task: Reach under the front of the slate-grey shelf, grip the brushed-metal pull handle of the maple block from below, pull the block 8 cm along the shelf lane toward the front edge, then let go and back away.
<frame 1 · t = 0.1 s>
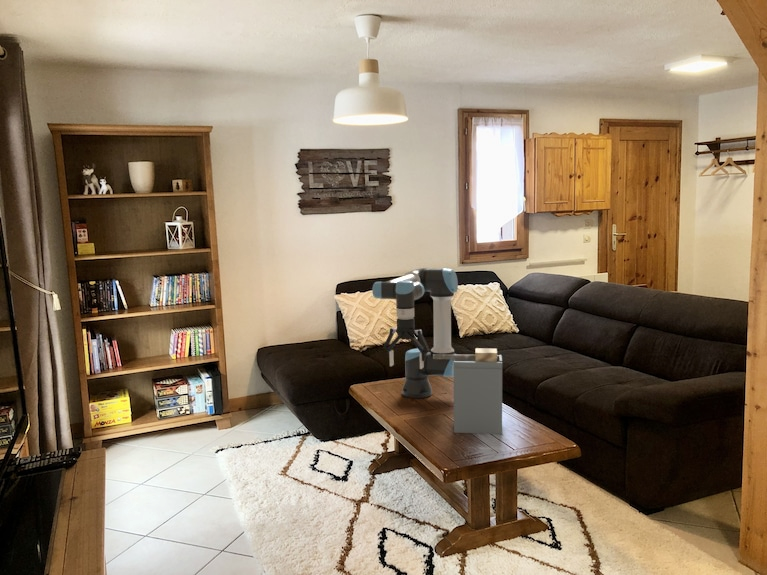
hand: (406, 367, 262), 28 cm above the table, tool pointing down, fingers open, 13 cm apart
shelf: (477, 427, 266), on the table
maple block: (486, 364, 262), point 28 cm above the table, touching shelf
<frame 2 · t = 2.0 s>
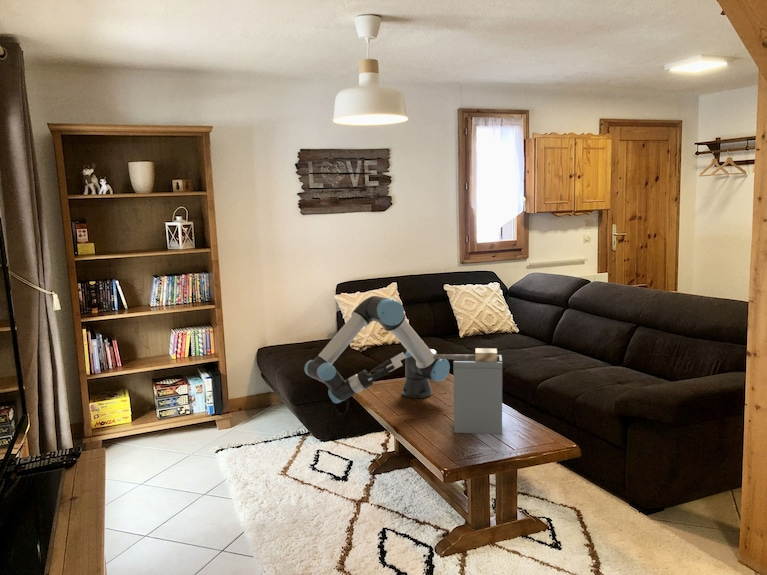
hand: (402, 358, 267), 30 cm above the table, tool pointing upward, fingers open, 13 cm apart
nothing on the table moved.
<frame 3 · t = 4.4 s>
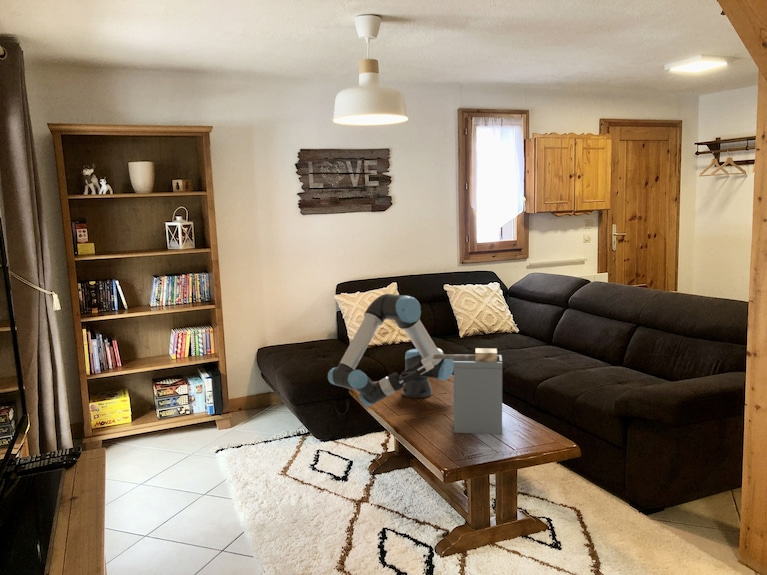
hand: (433, 360, 264), 29 cm above the table, tool pointing upward, fingers open, 13 cm apart
nothing on the table moved.
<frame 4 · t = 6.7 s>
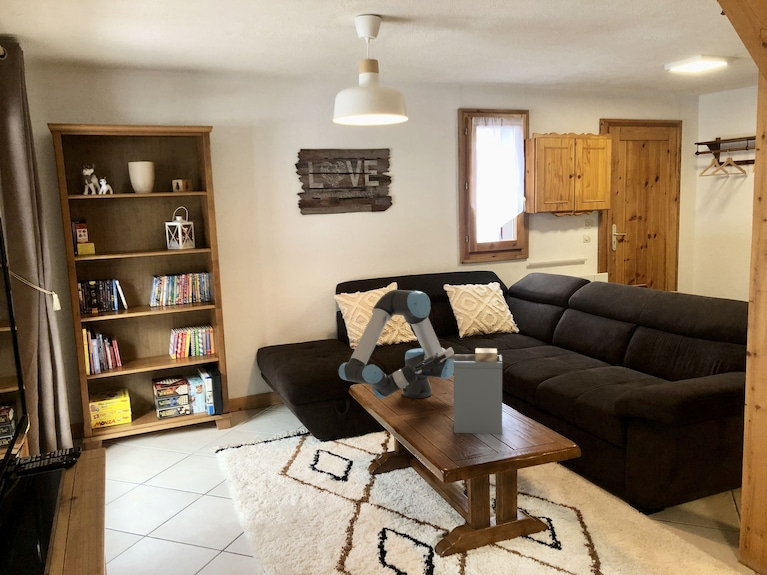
hand: (452, 350, 263), 34 cm above the table, tool pointing upward, fingers closed on maple block, 2 cm apart
maple block: (486, 364, 262), point 28 cm above the table, touching gripper, shelf
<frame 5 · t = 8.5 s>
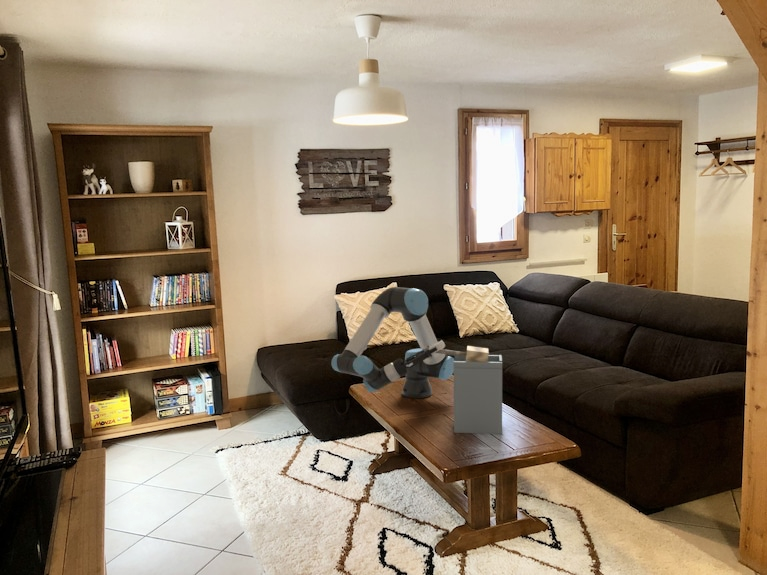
hand: (443, 343, 263), 37 cm above the table, tool pointing upward, fingers closed on maple block, 2 cm apart
maple block: (476, 362, 262), point 29 cm above the table, tilted 7°, touching gripper
when the fingers open (34 cm above the table, at t = 10.3 s): maple block stays where it is, resting on shelf.
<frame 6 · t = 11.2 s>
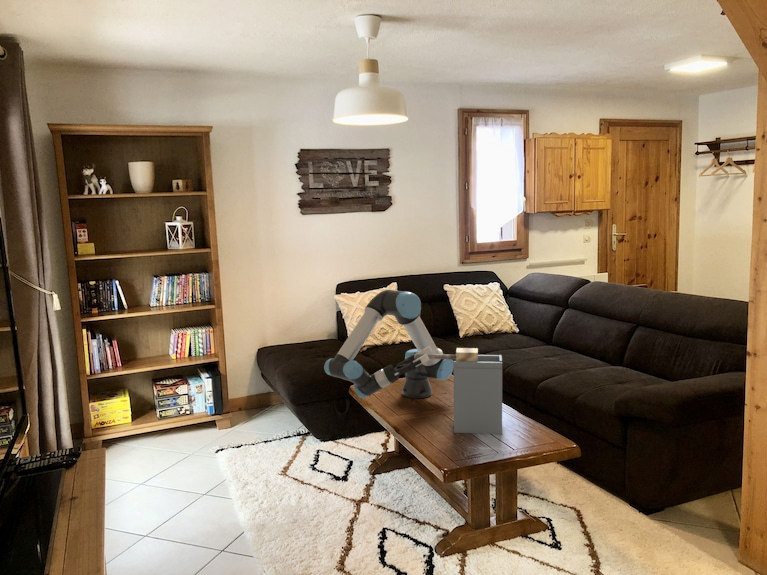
hand: (429, 352, 265), 33 cm above the table, tool pointing upward, fingers open, 13 cm apart
maple block: (467, 364, 263), point 28 cm above the table, touching shelf
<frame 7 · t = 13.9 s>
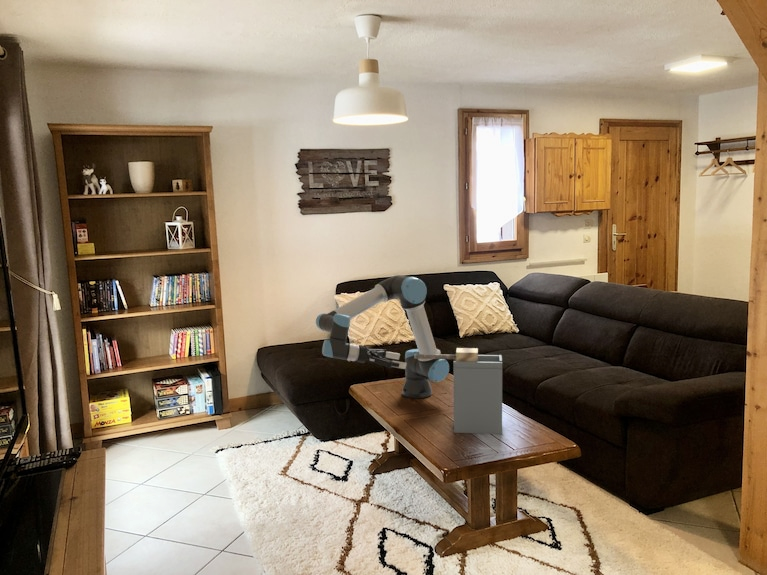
hand: (402, 361, 278), 26 cm above the table, tool horizontal, fingers open, 13 cm apart
nothing on the table moved.
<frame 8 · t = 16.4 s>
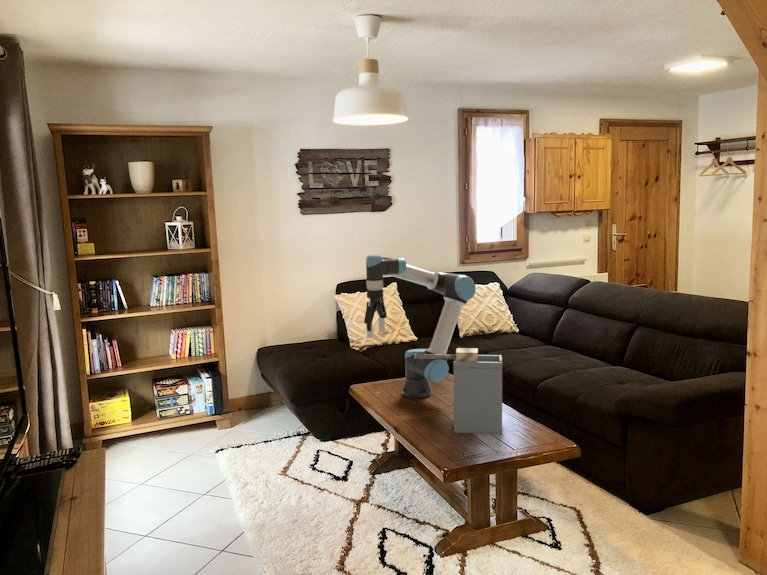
hand: (376, 334, 284), 37 cm above the table, tool pointing down, fingers open, 13 cm apart
nothing on the table moved.
at the end: maple block moved 8.0 cm from its start; maple block 0.3 cm from the target spot on the shelf, point 28.0 cm above the shelf's base; the gripper is holding nothing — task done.
